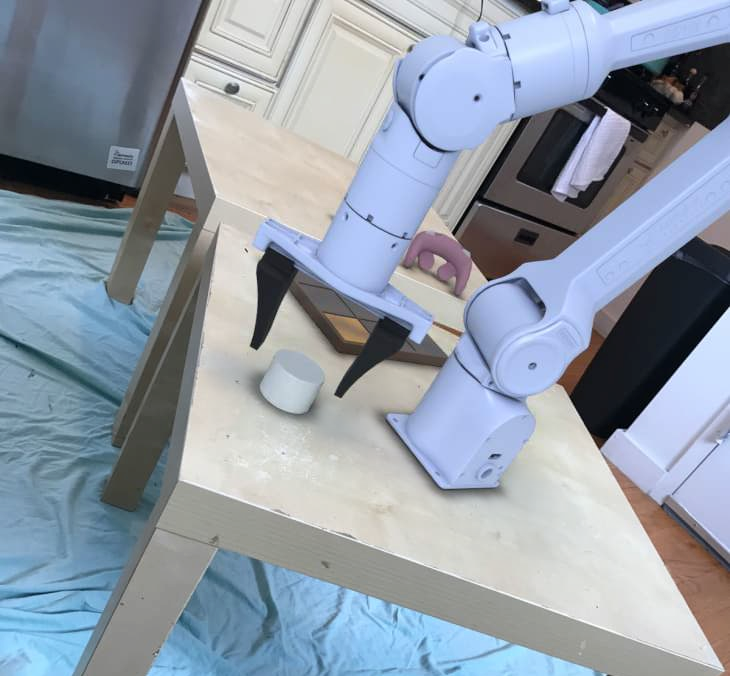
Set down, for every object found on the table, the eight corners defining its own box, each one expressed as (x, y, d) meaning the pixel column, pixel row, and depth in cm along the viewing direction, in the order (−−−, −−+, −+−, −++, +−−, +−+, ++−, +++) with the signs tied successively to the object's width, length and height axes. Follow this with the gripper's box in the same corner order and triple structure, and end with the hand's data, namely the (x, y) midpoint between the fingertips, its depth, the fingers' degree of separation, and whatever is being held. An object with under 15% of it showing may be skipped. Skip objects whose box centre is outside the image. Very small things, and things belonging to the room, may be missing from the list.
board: (445, 367, 85) (450, 358, 84) (338, 352, 74) (344, 341, 73) (374, 288, 93) (379, 279, 92) (268, 264, 82) (273, 254, 81)
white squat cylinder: (318, 415, 62) (335, 385, 61) (274, 412, 59) (290, 381, 58) (293, 381, 65) (309, 352, 63) (250, 377, 62) (265, 346, 60)
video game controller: (454, 299, 111) (476, 256, 110) (462, 297, 106) (485, 252, 106) (396, 267, 109) (418, 223, 108) (402, 263, 104) (425, 217, 104)
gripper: (467, 256, 58) (382, 393, 65) (303, 155, 56) (234, 307, 63) (462, 281, 52) (369, 428, 59) (278, 169, 50) (205, 335, 57)
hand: (298, 368), depth 60 cm, fingers open, 7 cm apart
